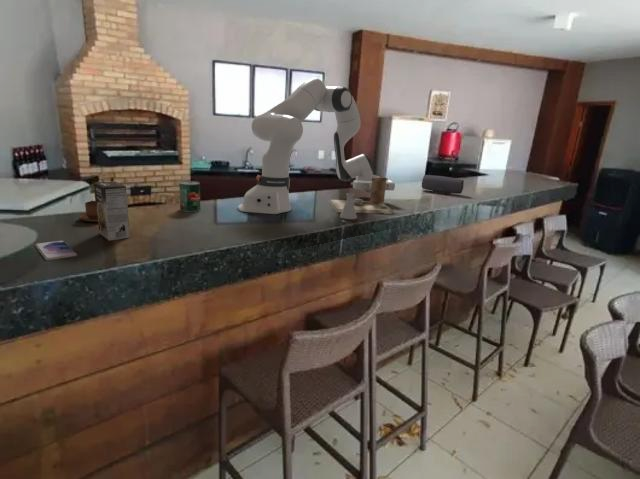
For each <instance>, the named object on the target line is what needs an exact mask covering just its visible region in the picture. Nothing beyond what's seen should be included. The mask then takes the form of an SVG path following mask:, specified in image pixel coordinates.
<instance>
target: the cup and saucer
mask: <svg viewBox="0 0 640 479" xmlns="http://www.w3.org/2000/svg"><path fill="white" fill-rule="evenodd" d="M84 205H85V206H84V207H85V212H83V213H80V214H78V219H80V220H82V221H84V222H89V223H98V217H97V208H96V200H91V201H86V202H85V203H84Z"/></svg>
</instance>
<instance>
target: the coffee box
mask: <svg viewBox="0 0 640 479" xmlns="http://www.w3.org/2000/svg"><path fill="white" fill-rule="evenodd" d="M93 188H94V198H95V201H96V208H97V217H98V222H97V224H98V225H97V226H98V233H99V235H101V236H102V237H104V238H105V239H106V240H107V241H109V242H110V241H115V240H123V239H128V238H131V235H130V224H129V223H130V222H129V207H128V195H127V194H128V193H127V186H126V185H124V184H122V183H120V182H117V181H97V182H96V181H95V182H93Z"/></svg>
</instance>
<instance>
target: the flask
mask: <svg viewBox="0 0 640 479" xmlns="http://www.w3.org/2000/svg"><path fill="white" fill-rule="evenodd" d="M354 196H355V194H354V193H351V192H346V199H345V200H346V203H345V205H344V208H343V210H342V212H340V214H339V215H340V216H339V218H340V219H343V220H357V219H358V216H357V213H356V212H355V208H354V204H353V200H354Z"/></svg>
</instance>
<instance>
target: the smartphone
mask: <svg viewBox="0 0 640 479" xmlns="http://www.w3.org/2000/svg"><path fill="white" fill-rule="evenodd" d="M34 247H35V248H36V249H37V250H38V252H39V253H40V254H41V256H42V257H43V258H44V260H45V261H54V260H58V259H65V258H70V257H77V256H78V254H77V253H76V251H74V249H72V247H70V245H69V244H68V243H67V242H66V241H64V240H54V241H47V242H40V243H39V242H37V243H35V244H34Z"/></svg>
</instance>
